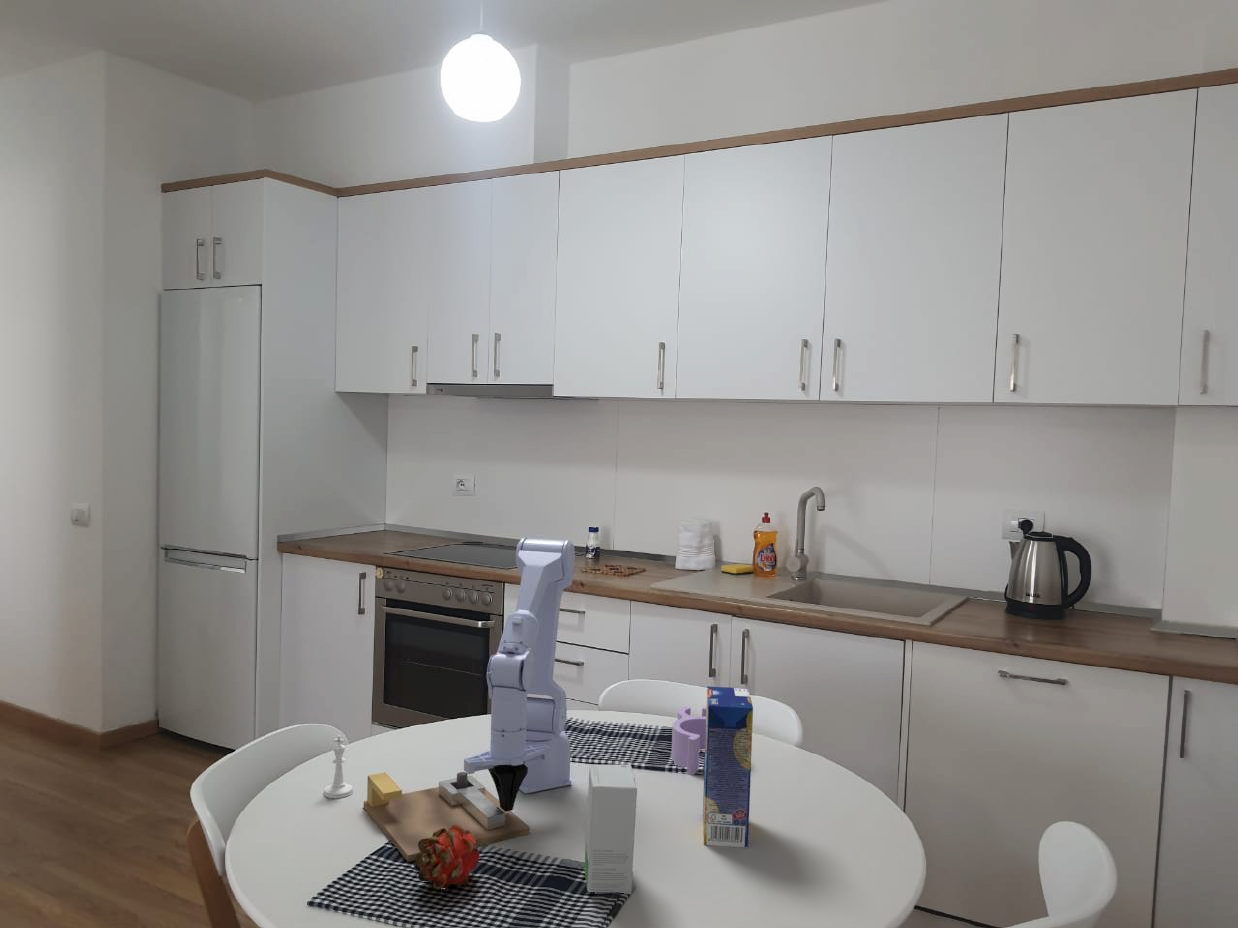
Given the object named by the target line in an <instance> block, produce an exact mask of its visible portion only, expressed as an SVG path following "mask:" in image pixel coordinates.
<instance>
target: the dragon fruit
mask: <svg viewBox="0 0 1238 928" xmlns="http://www.w3.org/2000/svg"><path fill="white" fill-rule="evenodd" d="M475 844H476V841H475V837H474V836H473V834H472V833H471V832H470V831H469V830H468V829H467V830H464V831H463V828H462V827H460V826H459V825H453V826H451V827H450V828H449V829H448V830H446V829H445V828H443V829H439V830H438V831H436V832H434V833H433V836H432V837H430V838H426V839H421V840H420V841H419V842H418V847H419V850H420V852H419V853H418V855H417V856H416V857H415V859H416V860H415V861H414V863H413V868H414V871H416V872H418V874H417V875H418V876H417V877H418V879H419V881H420V882H426V883H430V882H431V883H432V888H433V889H436V890H439V889H441V888H442V887H443V888H445V890H446V889H448V888H449V886H450V885H455V886H457V887H459V886H462V885H463V887H466V886H467V885H468V884H469V879H470V878H469V874H470V873H471V872H472V870H473V869H475V868H476V866H477V865H478V863H479V861H480V850H479V848H478V846H476V845H475Z"/></svg>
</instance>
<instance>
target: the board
mask: <svg viewBox="0 0 1238 928" xmlns="http://www.w3.org/2000/svg"><path fill="white" fill-rule="evenodd" d="M468 776H469V774H468V773H466V772H465V771H461V772H460V771H459V772H457V774H456V778H457V789H462V788H467V780H468ZM485 796H486V797H487V798H488V799H489V800H490V801H492V802H493V803H494V804H495V805H496V806H497V807H498V808H500V802H499V798H497V797H495V796H494V794H492V793H491V792H489V791H488V789H486V788H485ZM363 808H364V810H365V811H366V812H367V813H368V815H369V816H370V817H371V819H372V820H373V821H374V822H375V823H376V824H377V826H378V827H379V828H380V829H381V831H382V832H383V833H384V835H385V836H386V837H387V838H388V839H389V841H390V842H391V843H392V844H393V846H395V848H396V849H397V851H398V852H399V853H400V855H402V856H403V858H404V859H405V860H406V862H407V863H409V862H416V859H415V857H416V856H417V855H418V853H419V852H420V850H419V847H418V842H419V841H420V840H421V839H426V838H430V837H432V836H433V833H434V832H436V831H438V830H439V829H443V828H445V829H446V830H448V829H449V828H450V827H451V826H453V825H459V826H460V827H462V828H463V831H464V830H467V829H468V830H469V831H470V832H471V833H472V834H473V836H474V837H475V841H476V844H475V845H476V846H477V847H478V846H479V847H480V846H482V845H487V844H490V843H491V844H492V843H496V842H499V841H505V840H508V839H513V838H517V837H518V838H519V837H520V836H525V835H530V834H531V826H529V825H528V824H527V823H526V822H525V821H524V820H523V819H522V818H520V817H519V816H517V815H516V814H515V812H513V810H511V811H506V812H505V811H504V810H503V809H501V808H500V809H501V810H502V811H503V812H504V813H505V826H502V827H497V828H493V829H488V830H487V829H486V828H485V827H484V826H483V825H482V824H481V823H480V822H479V821H478V820H476V819H475V818H474V817H473V816H472V815H471V814H470V813H469V812H468V811H467V810H466V809H465V808H464V807H463V806H462V805H461V804H459V805H454V806H451V805H450V804H449V803H448V802H447V801H446V800H445V799H444V798H443V797H442V796H441V795H440V794H439V786H436V787H430V788H428V789H427V788H426V789H425V788H424V789H421V790H416V791H412V792H411V791H410V792H405V793H402V797H401V798H396V799H391V800H389V803H388V804H383V805H378V806H372V807H371V805H370V804H369V803H368V802H367V800H365V801H363Z"/></svg>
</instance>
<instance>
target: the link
mask: <svg viewBox="0 0 1238 928" xmlns="http://www.w3.org/2000/svg"><path fill="white" fill-rule="evenodd" d="M438 787H439V794H440V795H441V796H442V797H443V798H444V799H445V800H446V801H447V802H448V803H449V804H450V805H451V806H454V805H459V804H461V805H462V806H463V807H464V808H465V809H466V810H467V811H468V812H469V813H470V814H471V815H472V816H473V817H474V818H475V819H476V820H478V821H479V822H480V823H481V824H482V825H483V826H484V827H485V828H486V829H487V830H488V829H493V828H497V827H502V826H505V813H504V812H503V811H502V810H501V809H500V808H498V807H497V806H496V805H495V804H494V803H493V802H492V801H490V800H489V799H488V798H487V797H486V796H485V789H486V786H484V784H482V783H481V782H480V781H479V780H477V778H475V777H474V776H473V775H468V780H467V788H462V789H457V777H456V778H451V779H446V780H441V781H438Z"/></svg>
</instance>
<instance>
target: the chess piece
mask: <svg viewBox="0 0 1238 928" xmlns="http://www.w3.org/2000/svg"><path fill="white" fill-rule="evenodd" d="M333 742H335V743H337V744H336V745H334V746H333V747H332V750H333V752H334V756H335V758H334V759H332V763H333V764H335V771H334V777H333V782H332V783H331V784H330V785H327V786H326V787H324V788H323V796H324V797H326V798H329V799H342V798H346V797H350V795H352V794H353V793H354V788H353V786H352V785H351V784H349V783H347V782H346V781H344V774H343V773H344V772H343V763H345V762H346V759H345V758H344V757H343V756H344V752H345V750H346V745H344V743H345V739H343V738H342V735H340V734H339V735H337V738H334V740H333ZM342 743H343V744H342Z"/></svg>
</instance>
